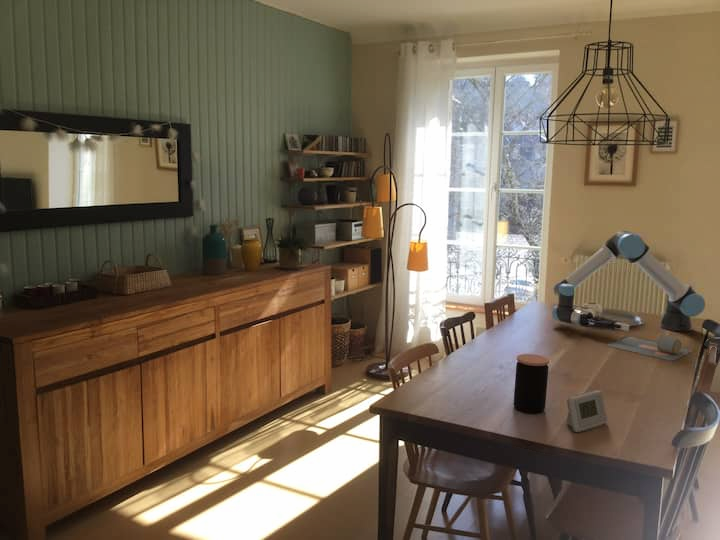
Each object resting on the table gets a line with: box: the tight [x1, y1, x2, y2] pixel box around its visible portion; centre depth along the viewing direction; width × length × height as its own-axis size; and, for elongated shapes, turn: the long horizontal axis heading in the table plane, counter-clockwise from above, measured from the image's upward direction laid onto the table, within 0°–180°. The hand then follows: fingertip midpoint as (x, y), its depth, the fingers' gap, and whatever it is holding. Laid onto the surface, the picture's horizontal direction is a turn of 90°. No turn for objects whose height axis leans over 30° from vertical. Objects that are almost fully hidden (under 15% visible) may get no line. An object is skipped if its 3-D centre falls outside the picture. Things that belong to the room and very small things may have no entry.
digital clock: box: [566, 389, 608, 433], centre depth 213 cm, size 16×9×11 cm, turn 112°
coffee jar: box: [512, 353, 550, 415], centre depth 225 cm, size 11×11×18 cm
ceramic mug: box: [656, 333, 682, 354], centre depth 299 cm, size 11×8×8 cm
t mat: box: [606, 336, 694, 362], centre depth 305 cm, size 24×30×1 cm
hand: (628, 327), depth 313 cm, fingers closed
